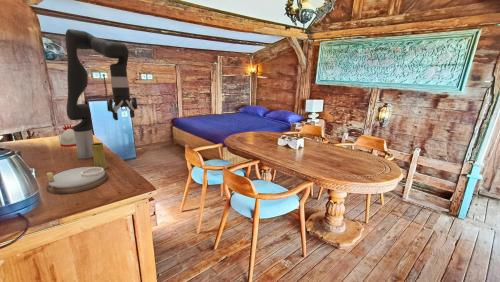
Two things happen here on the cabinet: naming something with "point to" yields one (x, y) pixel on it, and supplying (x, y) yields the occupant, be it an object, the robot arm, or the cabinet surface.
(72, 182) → the turntable
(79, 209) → the cabinet surface
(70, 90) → the robot arm
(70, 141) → the kitchen timer
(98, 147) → the vase
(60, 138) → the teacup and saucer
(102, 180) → the turntable base
